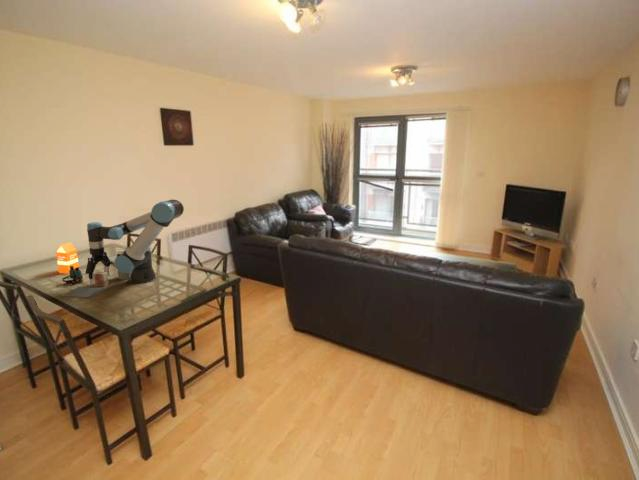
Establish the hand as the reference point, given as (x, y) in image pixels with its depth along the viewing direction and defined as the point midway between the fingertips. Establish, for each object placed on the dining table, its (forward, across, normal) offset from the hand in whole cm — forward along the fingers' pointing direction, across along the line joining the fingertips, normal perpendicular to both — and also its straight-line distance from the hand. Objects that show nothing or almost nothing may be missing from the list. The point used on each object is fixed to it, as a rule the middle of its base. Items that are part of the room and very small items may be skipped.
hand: (99, 279), depth 209 cm
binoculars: (+4, 0, -18) cm, 18 cm away
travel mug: (+4, -14, +8) cm, 16 cm away
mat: (+4, +13, -2) cm, 14 cm away
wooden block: (+4, 0, 0) cm, 4 cm away
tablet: (+4, -48, -14) cm, 50 cm away
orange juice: (+4, -21, -36) cm, 42 cm away
